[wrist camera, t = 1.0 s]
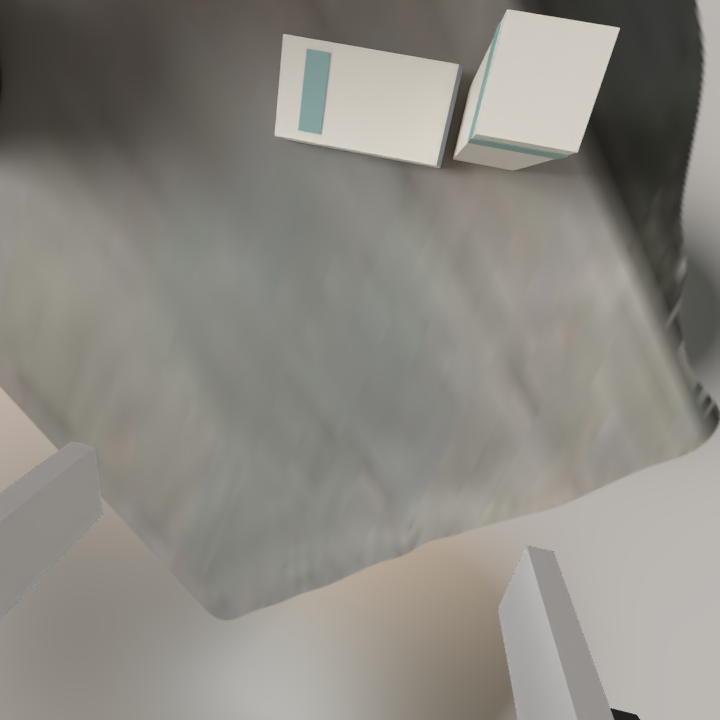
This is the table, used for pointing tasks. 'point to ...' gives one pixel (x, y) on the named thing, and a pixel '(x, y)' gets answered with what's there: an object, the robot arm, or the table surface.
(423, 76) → the strip
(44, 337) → the table surface
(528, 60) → the stub
